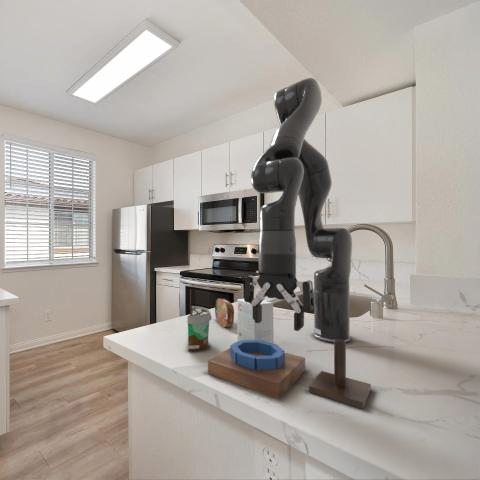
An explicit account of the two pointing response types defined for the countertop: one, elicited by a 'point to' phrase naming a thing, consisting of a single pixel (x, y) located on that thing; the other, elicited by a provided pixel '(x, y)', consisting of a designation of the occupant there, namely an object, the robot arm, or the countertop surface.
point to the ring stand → (340, 381)
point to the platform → (258, 373)
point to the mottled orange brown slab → (224, 312)
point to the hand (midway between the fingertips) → (276, 326)
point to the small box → (249, 327)
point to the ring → (257, 361)
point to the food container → (198, 328)
